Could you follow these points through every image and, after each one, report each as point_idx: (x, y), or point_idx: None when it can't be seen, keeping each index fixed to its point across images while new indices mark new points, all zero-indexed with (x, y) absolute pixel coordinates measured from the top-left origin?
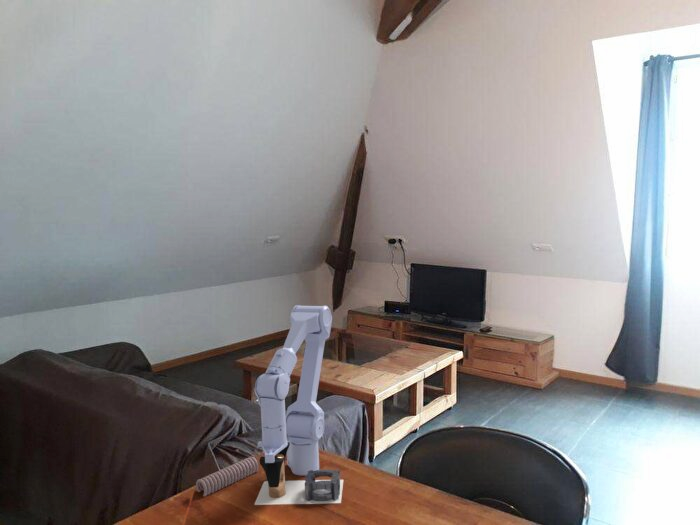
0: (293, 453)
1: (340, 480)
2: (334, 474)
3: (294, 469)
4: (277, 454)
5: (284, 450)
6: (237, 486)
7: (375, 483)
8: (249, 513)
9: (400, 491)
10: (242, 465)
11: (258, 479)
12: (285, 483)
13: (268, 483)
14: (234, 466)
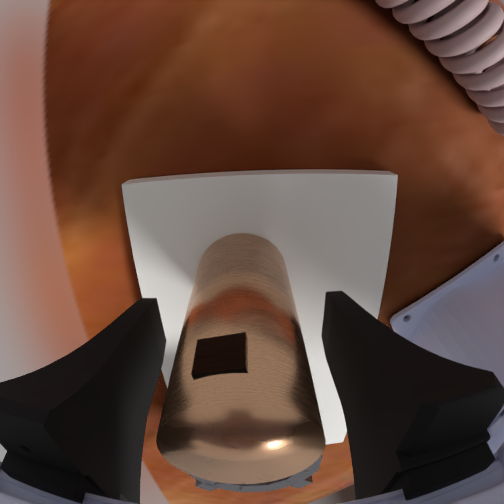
0: (488, 364)
1: (338, 438)
2: (269, 485)
3: (447, 316)
4: (310, 452)
5: (361, 476)
6: (382, 32)
7: (323, 472)
8: (91, 169)
9: (276, 496)
10: (491, 51)
11: (448, 132)
12: (355, 289)
13: (130, 307)
14: (469, 2)
